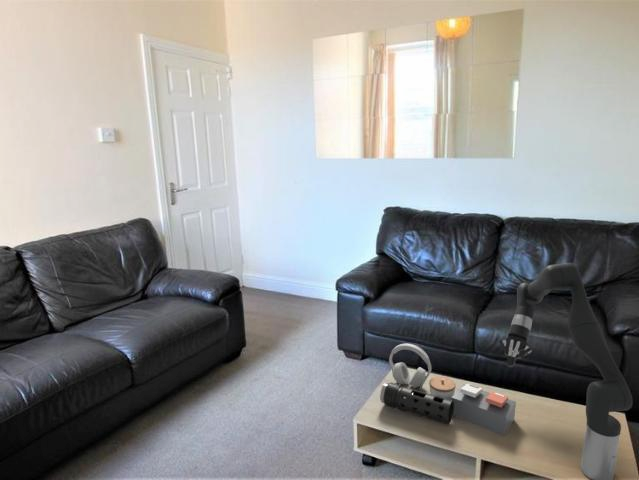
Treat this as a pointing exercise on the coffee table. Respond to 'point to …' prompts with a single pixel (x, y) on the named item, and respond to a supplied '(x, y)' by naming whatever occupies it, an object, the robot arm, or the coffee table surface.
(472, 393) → the white block
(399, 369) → the headphones
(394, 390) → the muzzle brake
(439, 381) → the lidded jar
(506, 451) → the coffee table surface
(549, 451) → the coffee table surface
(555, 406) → the coffee table surface
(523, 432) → the coffee table surface
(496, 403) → the labelled salmon box
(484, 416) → the switch box
